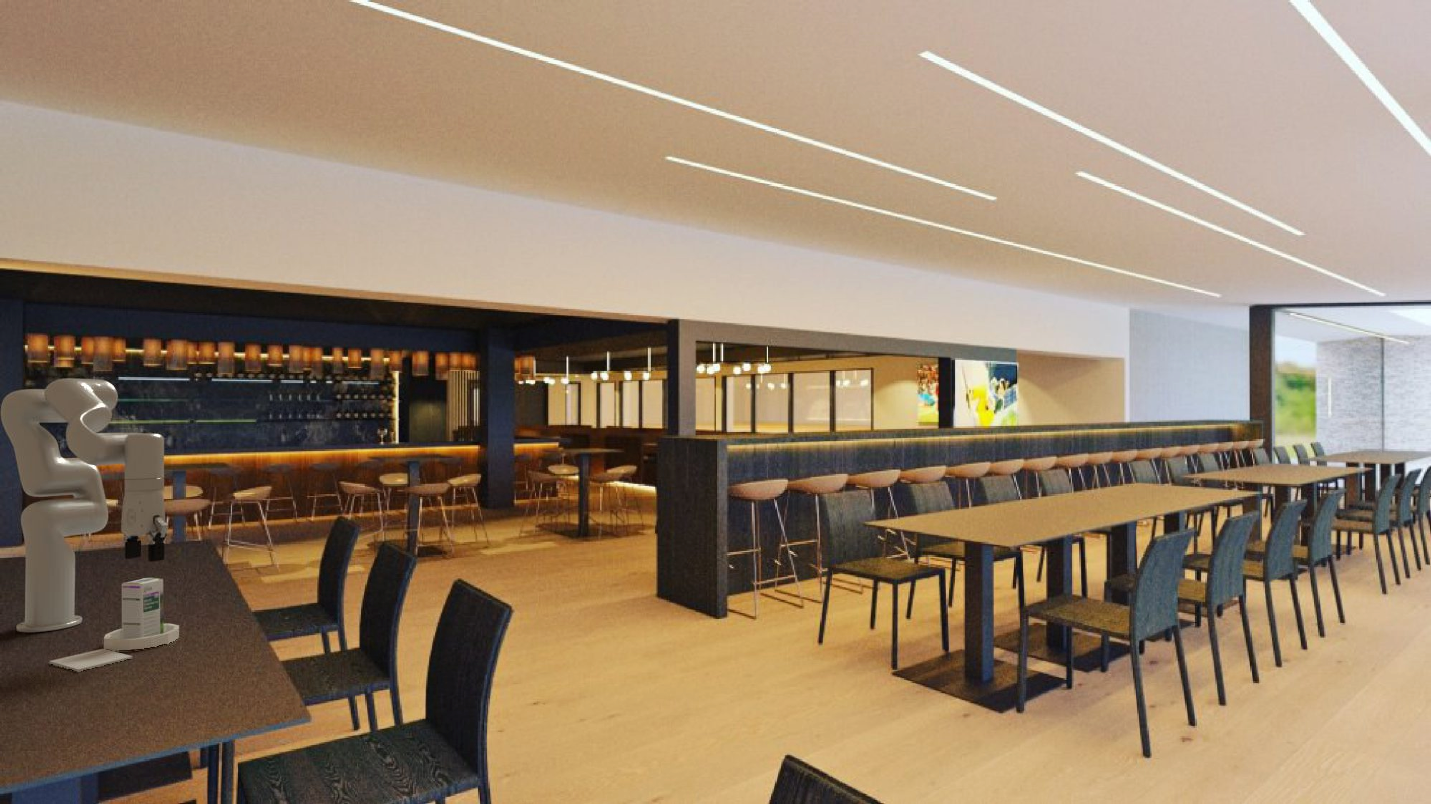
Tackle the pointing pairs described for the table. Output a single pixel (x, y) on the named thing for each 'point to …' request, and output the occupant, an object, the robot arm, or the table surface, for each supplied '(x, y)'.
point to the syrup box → (142, 608)
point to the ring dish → (141, 639)
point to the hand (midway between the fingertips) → (144, 559)
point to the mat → (90, 660)
